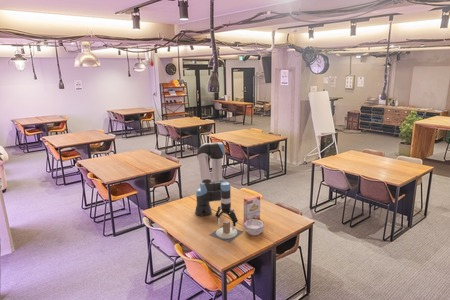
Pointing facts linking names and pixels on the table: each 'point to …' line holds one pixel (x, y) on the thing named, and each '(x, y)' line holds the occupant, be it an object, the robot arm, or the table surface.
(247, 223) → the paper bowls
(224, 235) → the lid
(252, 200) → the cracker box
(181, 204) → the table surface
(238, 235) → the mat
